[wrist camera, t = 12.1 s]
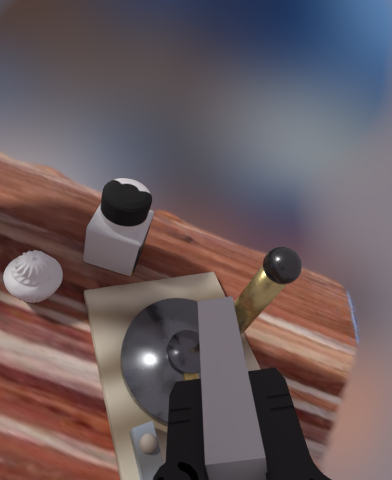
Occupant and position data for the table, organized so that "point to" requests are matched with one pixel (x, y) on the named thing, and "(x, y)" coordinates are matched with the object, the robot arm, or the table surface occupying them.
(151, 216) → the medicine bottle
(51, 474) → the table surface
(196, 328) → the brass rod on disc
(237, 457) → the robot arm
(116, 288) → the stand
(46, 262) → the grey piece
